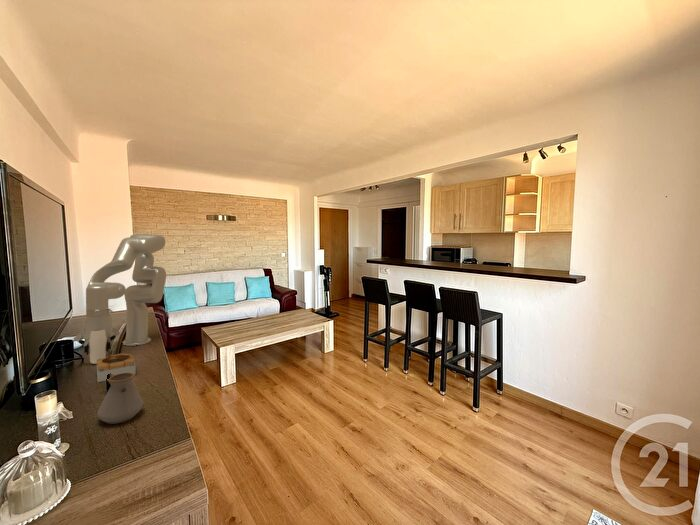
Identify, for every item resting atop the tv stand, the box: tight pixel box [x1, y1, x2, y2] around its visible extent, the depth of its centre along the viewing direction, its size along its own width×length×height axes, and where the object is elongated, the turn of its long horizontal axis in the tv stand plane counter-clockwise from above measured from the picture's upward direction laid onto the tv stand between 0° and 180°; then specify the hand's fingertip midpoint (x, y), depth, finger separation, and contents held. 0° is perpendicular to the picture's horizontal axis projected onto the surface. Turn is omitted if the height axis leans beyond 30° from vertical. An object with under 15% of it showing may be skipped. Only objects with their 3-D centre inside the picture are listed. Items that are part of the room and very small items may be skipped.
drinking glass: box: [88, 330, 107, 365], centre depth 130 cm, size 7×7×15 cm
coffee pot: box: [96, 373, 144, 425], centre depth 88 cm, size 21×12×15 cm, turn 40°
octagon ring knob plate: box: [96, 353, 137, 383], centre depth 123 cm, size 16×12×6 cm
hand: (97, 351), depth 130 cm, fingers closed on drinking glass, 6 cm apart
